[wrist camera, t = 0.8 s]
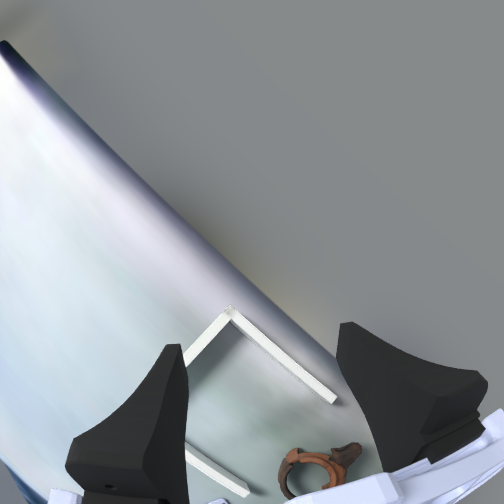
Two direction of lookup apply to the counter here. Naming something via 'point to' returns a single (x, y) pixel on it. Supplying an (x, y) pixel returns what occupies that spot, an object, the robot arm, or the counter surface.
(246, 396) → the counter surface
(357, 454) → the pottery mug
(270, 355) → the u-shaped white bracket
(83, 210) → the counter surface
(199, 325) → the counter surface
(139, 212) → the counter surface
